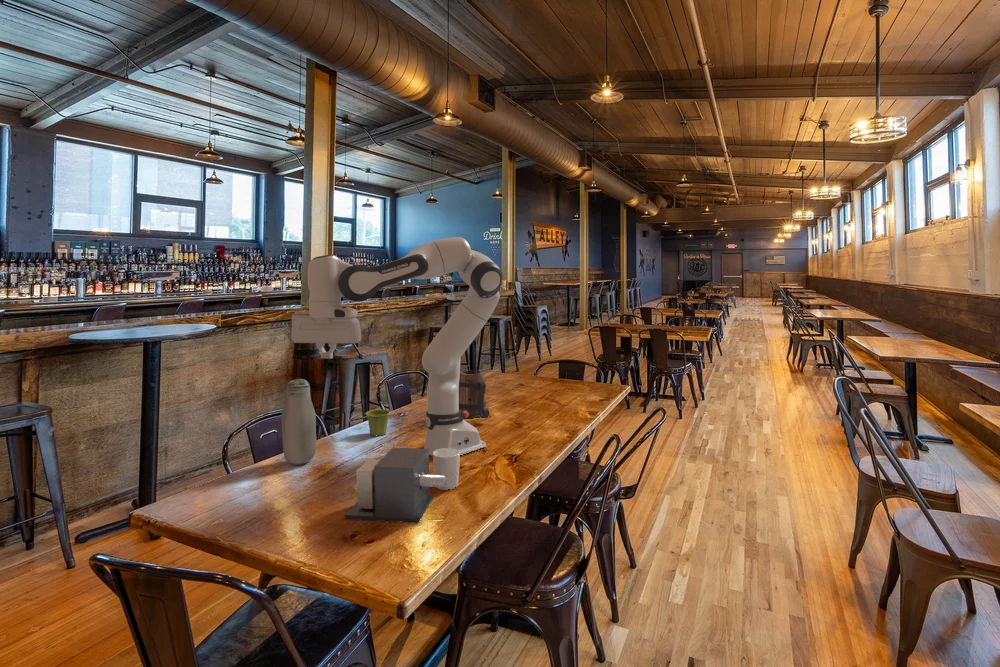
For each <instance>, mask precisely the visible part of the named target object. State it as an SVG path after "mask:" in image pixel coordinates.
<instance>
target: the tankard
mask: <svg viewBox="0 0 1000 667" xmlns="http://www.w3.org/2000/svg"><path fill="white" fill-rule="evenodd" d="M484 379H485V378H484V375H483V371H482V370H462V371H460V378H459V410H461V411H466V412H468V413H469V416H468V417H467V418H465V417H463V419H473V418H480V417H481V418H488V416H489V415H490V410H489V408H488V407H486V405H487V404H486V400H485V399H486V398H485V395H486V389H487V388H486V385H487V384H486V382H485V380H484ZM488 419H489V418H488Z"/></svg>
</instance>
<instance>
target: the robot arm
mask: <svg viewBox="0 0 1000 667" xmlns="http://www.w3.org/2000/svg"><path fill="white" fill-rule="evenodd" d="M452 273H456V274H457V275H458V276H459V277H460V278H461V279H462V281H463V282H464V283H465V284H467V285H468V286H469V288H468V291H467V293H466V295H465V296H464V297H463V299H462V301H461V302H460V303H459V304H458V306H457V307H456V309H455V310H454V312H453V313H452V314H451V316H450V318H449V319H448V320H447V321H446V323H444V325H443V326H442V328H441V329H440V330H439V331H438V333H436V335H435V336H434V338H433V339H432V340H431V342H430V343H429V344H428V346H426V348H425V349H424V351H423V354H422V357H421V365H422V368H423V369H424V370H425V372H426V373H428V380H427V381H428V382H427V387H426V407H427V409H426V411H425V413H426V414H425V423H426V424H425V426H426V435H425V436H426V437H425V443H424V447H423V449H429V456H432V457H433V452H434V451H435V450H438V449H442V448H453V449H457V450H459V451H460V455H462V456H464V455H463V454H466V453H469V452H471V451H474V450H477V449H480V448H483V447H486V448H487V443H486V442H485V441H484V440H482V439H481V437H480V434H479V431H478V429H477V428H476V427H475V426H474V425H472V424H471V423H469V422H467V421H465V420H464V419H463V417H465V418H467V417H468V416H469V413H468V412H466V411H461V410H459V378H460V372H461V357H463V355H464V354H465V352H466V351H467V349H468V348H469V347H470V345H471V344H472V343H473V341H474V340H475V339H476V338H477V336H478V334H480V332H481V330H482V329H483V327H484V326H485V325H486V323H488V320H490V318H491V316H492V315H493V312H494V311H495V310H496V308H497V306H498V303H499V300H500V299H501V298H500V297H501V296H500V291H499V290H500V288H501V286H502V283H503V278H504V277H503V272H502V270H501V268H500V267H499V265H498V264H496V263H495V262H494V261H493V260H492V259H491V258H490V257H489V256H487V255H485V254H484V253H482V252H480V251H479V250H477V249H475V248H472V247H471V245H470V244H469V242H468V241H467V239H465V238H463V237H462V236H453V237H446V238H445V237H444V238H440V239H436V240H435V239H434V240H432V241H428V242H426V243H423V244H421V245H418V246H417V247H415V248H413V249H411V250H410V251H409V252H408V253H407V254H406V255H404V256H403V257H401V258H398V259H395V260H393V261H389V262H386V263H385V262H384V263H382V264H379V265H373V266H367V265H359V264H354V265H353V264H351V263H349V262H346V261H345V260H342V259H340V258H339V257H337V255H334V254H327V255H325V254H324V255H320V256H316V257H314V258H312V259H310V261H309V262H308V267H307V287H308V290H309V295H308V296H309V298H308V311H307V310H306V311H304V310H303V311H298V310H297V311H296V312H294V313H293V314H292V315H291V341H292V342H293V343H295V344H298V343H299V344H316V348H317V349H318V351H319V353H320V359H330V360H331V359H333V358H334V351H335V349H336V348H337V344H359V342H360V341H361V340H362V330H361V322H360V320H359V319H358V318H357V316H358V310H357V309H355V308H352V307H349V306H346V305H343V304H342V303H341V302H342V300H341V299H342V298H345V299H347V300H349V301H351V302H356V303H358V302H364V301H367V300H369V299H371V297H373V296H374V295H375V294H376V293H377V292H378V291H380V290H381V289H383V288H386V287H388V286H391V285H396V284H397V283H401V282H404V281H407V280H429V279H435V278H438V277H439V278H440V277H442V276H445V275H449V274H452ZM325 344H328V347H329V349H328V351H326V349H325V348H324V346H326V345H325ZM469 454H470V453H469ZM466 455H467V454H466Z"/></svg>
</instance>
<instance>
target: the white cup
mask: <svg viewBox="0 0 1000 667" xmlns="http://www.w3.org/2000/svg"><path fill="white" fill-rule="evenodd" d="M460 459H461V456H460V451H459V450H457V449H453V448H442V449H438V450H435V451H434V452H433V456H432V464H433V465H432V466H433V475H445V476H446V484H445V487H435V488H436V489H437V490H441V491H449V490H448V489H450V490H453V488H454V489H456V488H457V487H458V486H459V477H460V462H461V460H460ZM455 487H456V488H455Z"/></svg>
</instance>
